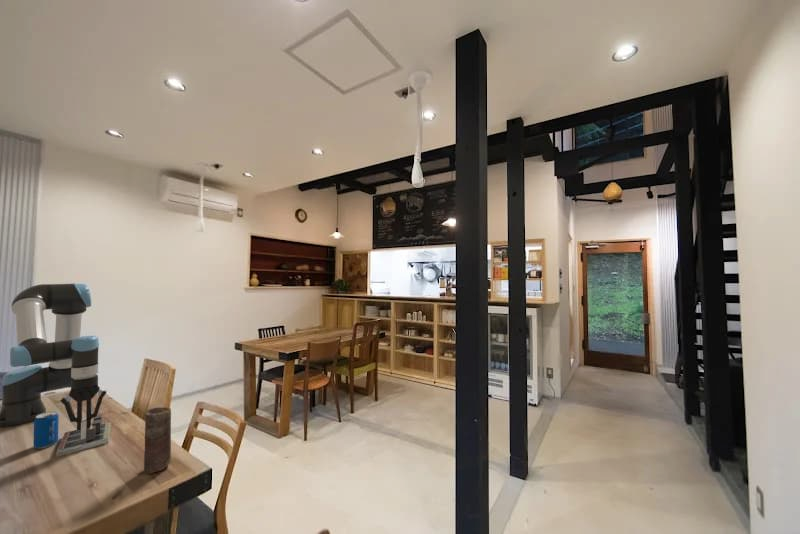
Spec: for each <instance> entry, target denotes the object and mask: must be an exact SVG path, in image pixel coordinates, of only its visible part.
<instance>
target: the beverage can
mask: <svg viewBox="0 0 800 534" xmlns="http://www.w3.org/2000/svg"><path fill="white" fill-rule="evenodd" d="M59 417H60V415H59V414H58V411H55V410H54V411H46V413H43V414H40V415H37V416H36V419H35V420H33V448H35V449H45V448H49V447H52V446H53V445H55V444H56V443H57V442H58V441H59V419H60V418H59Z"/></svg>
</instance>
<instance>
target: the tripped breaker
mask: <svg viewBox="0 0 800 534" xmlns="http://www.w3.org/2000/svg"><path fill="white" fill-rule="evenodd" d="M95 430H96V425H95V426H92V425H91V427H90V428H87V430H86V441H88V440H93V439H95Z"/></svg>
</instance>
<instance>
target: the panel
mask: <svg viewBox="0 0 800 534" xmlns="http://www.w3.org/2000/svg"><path fill="white" fill-rule="evenodd" d="M111 428H112V421H109V422H105V423H102V426H101V431H100V432H99V433H95V439H93V440H88V441H86V438H84V439H81V430H77V429H75V430H69V431H66V432H64V433H63V435H62V438H61V441H60V443H59V445H58V447H57V451H56V457H61V456H64V455H68V454H72V453H77V452H80V451H83V450H88V449H92V448H96V447H99V446H103V445H107V444H109V441H110V435H111Z"/></svg>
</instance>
